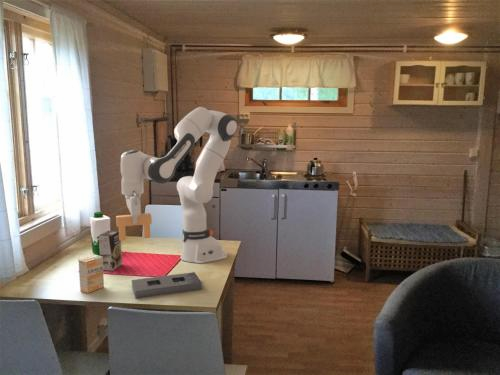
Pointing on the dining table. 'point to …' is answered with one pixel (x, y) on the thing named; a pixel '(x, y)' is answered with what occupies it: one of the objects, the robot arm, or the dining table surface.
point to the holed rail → (166, 285)
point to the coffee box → (110, 250)
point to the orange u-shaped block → (127, 221)
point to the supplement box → (91, 273)
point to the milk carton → (98, 229)
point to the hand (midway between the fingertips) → (134, 221)
